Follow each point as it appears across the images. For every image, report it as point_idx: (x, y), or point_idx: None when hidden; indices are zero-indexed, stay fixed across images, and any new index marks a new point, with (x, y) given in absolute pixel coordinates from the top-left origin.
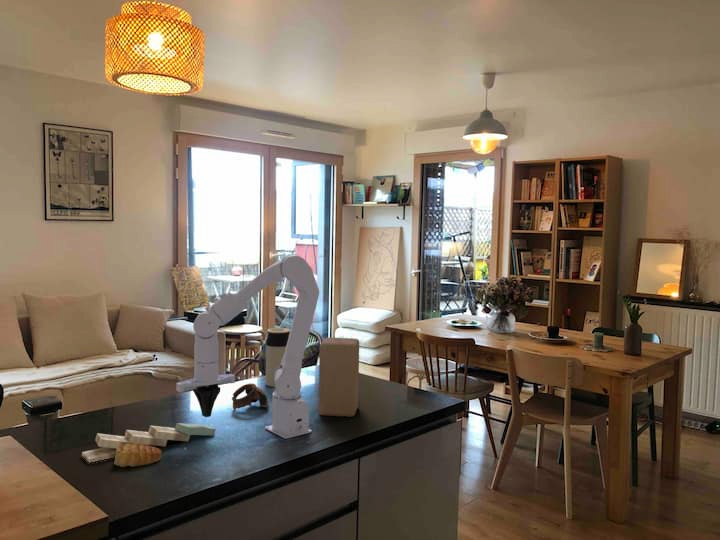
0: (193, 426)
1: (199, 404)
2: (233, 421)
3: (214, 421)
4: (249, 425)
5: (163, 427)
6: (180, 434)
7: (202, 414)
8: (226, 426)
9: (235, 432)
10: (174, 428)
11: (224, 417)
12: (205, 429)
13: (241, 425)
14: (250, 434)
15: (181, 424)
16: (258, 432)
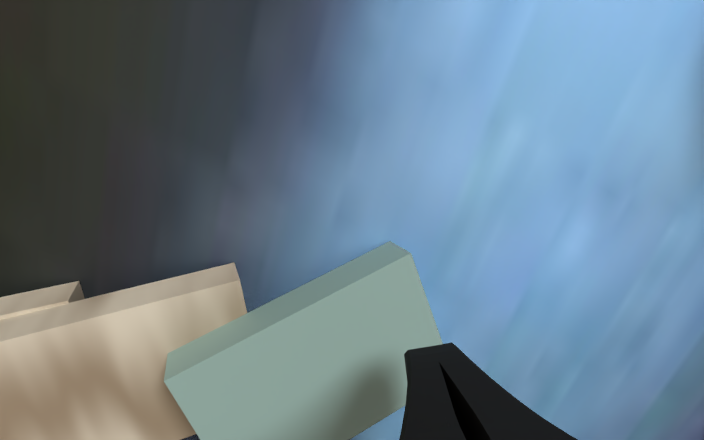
0: (294, 419)
1: (403, 418)
2: (667, 150)
3: (557, 77)
4: (698, 280)
5: (68, 343)
6: (195, 432)
7: (406, 369)
8: (572, 230)
9: (560, 356)
10: (174, 307)
11: (670, 14)
12: (374, 418)
13: (660, 257)
14: (610, 417)
15: (201, 411)
16: (662, 407)
